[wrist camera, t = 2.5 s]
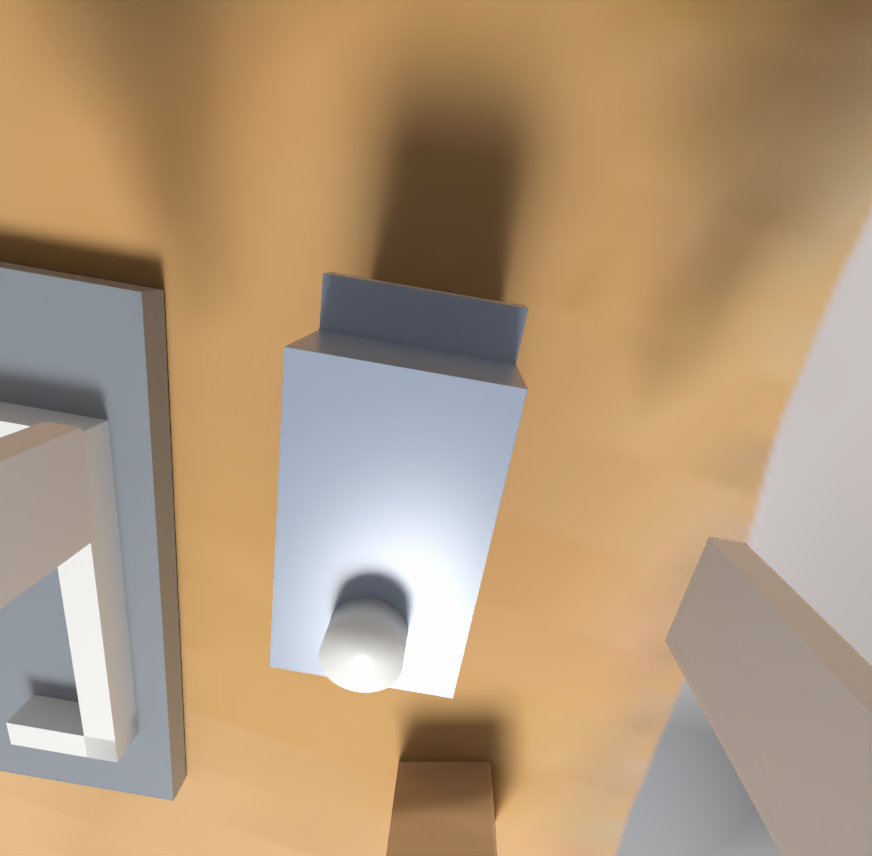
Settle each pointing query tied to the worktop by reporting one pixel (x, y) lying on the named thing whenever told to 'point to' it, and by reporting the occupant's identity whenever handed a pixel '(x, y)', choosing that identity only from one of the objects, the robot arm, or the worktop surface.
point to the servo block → (391, 481)
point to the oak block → (443, 810)
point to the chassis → (95, 542)
